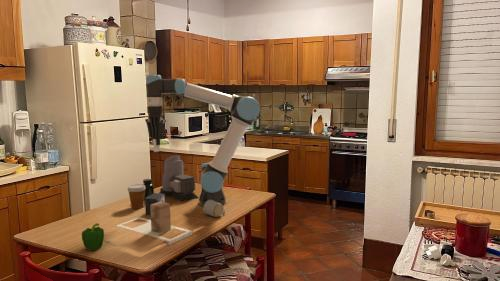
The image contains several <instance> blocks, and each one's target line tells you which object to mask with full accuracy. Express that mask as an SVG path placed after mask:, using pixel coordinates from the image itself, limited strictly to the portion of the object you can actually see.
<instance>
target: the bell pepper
mask: <svg viewBox="0 0 500 281" xmlns="http://www.w3.org/2000/svg"><path fill="white" fill-rule="evenodd" d="M81 239H82V242H83V245H84V248H85V249H86V250H88V251H97V250H99V249H100V248H102V247H103V242H104V239H105V230H104V228H102V227H100V223H98V222H97V223H95V224H93V225H92V226H91V228H89V227H87V228H86V229H84V230H82V232H81Z"/></svg>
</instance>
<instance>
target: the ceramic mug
mask: <svg viewBox="0 0 500 281" xmlns="http://www.w3.org/2000/svg"><path fill="white" fill-rule="evenodd" d="M202 210H203V213H204V214H206V215H208V216H211V217H213V218H218V217H221V216H222V214H226V209H225V210H224V206H223V205H222V204H220V203H218V202H215V201H213V200H208V201H206V202H205V204H204V206H203V208H202Z"/></svg>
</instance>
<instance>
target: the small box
mask: <svg viewBox="0 0 500 281" xmlns="http://www.w3.org/2000/svg"><path fill="white" fill-rule="evenodd" d="M165 197H166V196H165V194H161V193H159V192H154V193H153V194H152V195H150V196H148V197H146V198H145V201H144V205H145V206H144V208H145V216H147V217H151V210H150V205H151V204H154V203H157V202H165V203H166V198H165Z"/></svg>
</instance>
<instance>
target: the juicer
mask: <svg viewBox="0 0 500 281" xmlns="http://www.w3.org/2000/svg"><path fill="white" fill-rule="evenodd" d="M161 186H162V187H161V188H160V189H159V190H160V192H158V193H161V194H165V197H168V198H169V197H170V198H172V199H174V200H176V201H178V202H187V201H192V200H195V199H199V196H197V194H196V193H195V192H194V191H196V178H195V176H191V175H189V174H186V173H185V174H184V161H183V160H181V156H180V155H179V154H178V155H171V156H169V157H167V158H166V159H165V160H164V166H163V175H162V176H161Z"/></svg>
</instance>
